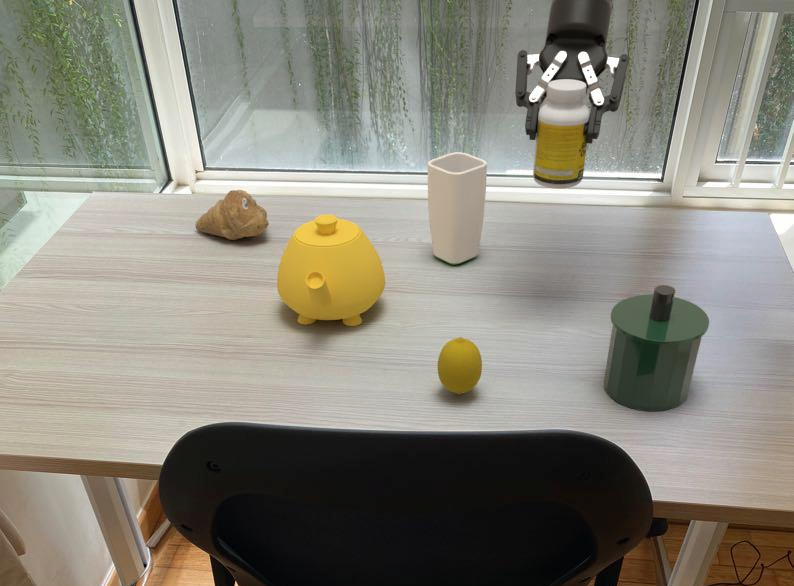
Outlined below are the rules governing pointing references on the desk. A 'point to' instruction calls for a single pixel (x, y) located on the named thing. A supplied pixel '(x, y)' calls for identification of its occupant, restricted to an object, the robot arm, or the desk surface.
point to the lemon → (459, 365)
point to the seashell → (234, 217)
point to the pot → (649, 372)
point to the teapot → (330, 271)
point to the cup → (456, 205)
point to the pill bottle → (562, 135)
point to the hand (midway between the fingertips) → (560, 138)
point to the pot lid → (660, 318)
